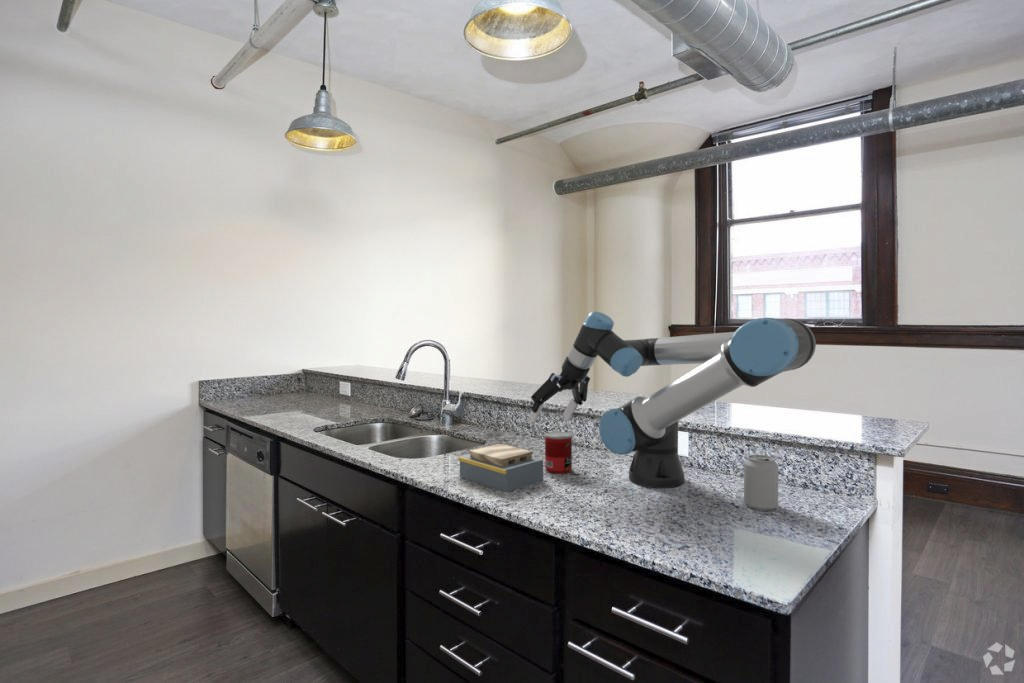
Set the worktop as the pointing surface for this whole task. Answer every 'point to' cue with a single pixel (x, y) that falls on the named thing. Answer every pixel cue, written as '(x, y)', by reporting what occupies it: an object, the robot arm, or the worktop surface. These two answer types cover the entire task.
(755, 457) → the can
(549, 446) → the canned food
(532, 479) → the dock
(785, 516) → the worktop surface
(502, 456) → the pallet
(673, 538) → the worktop surface
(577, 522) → the worktop surface
